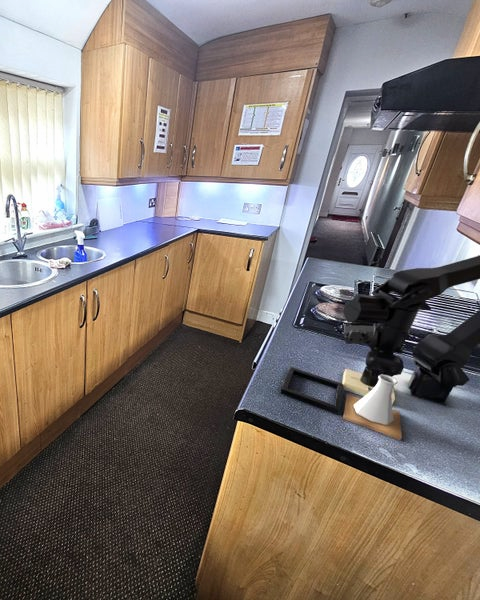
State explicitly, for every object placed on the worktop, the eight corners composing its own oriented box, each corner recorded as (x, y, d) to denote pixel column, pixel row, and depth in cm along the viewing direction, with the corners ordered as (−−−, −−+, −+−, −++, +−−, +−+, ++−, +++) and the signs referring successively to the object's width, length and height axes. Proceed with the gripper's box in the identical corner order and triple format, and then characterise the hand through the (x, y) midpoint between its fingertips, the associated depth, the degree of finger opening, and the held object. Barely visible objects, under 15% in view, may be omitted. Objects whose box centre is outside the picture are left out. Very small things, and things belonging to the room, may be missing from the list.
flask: (350, 414, 76) (365, 379, 72) (354, 398, 81) (368, 365, 77) (391, 430, 72) (410, 394, 68) (393, 413, 76) (410, 378, 72)
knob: (360, 376, 87) (365, 363, 85) (377, 382, 85) (383, 368, 83) (359, 383, 85) (365, 369, 83) (377, 388, 82) (384, 375, 81)
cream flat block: (390, 389, 86) (393, 382, 85) (391, 405, 80) (395, 398, 79) (343, 374, 91) (345, 368, 90) (341, 388, 86) (344, 382, 85)
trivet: (398, 414, 77) (399, 411, 77) (400, 440, 70) (401, 437, 70) (345, 396, 83) (346, 393, 83) (342, 418, 76) (343, 416, 76)
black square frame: (342, 388, 86) (344, 384, 85) (338, 415, 77) (340, 410, 76) (288, 370, 93) (289, 366, 92) (279, 393, 84) (281, 388, 84)
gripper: (353, 302, 89) (336, 351, 95) (350, 328, 76) (330, 382, 82) (409, 313, 83) (386, 365, 89) (415, 344, 69) (388, 401, 76)
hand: (371, 377), depth 84 cm, fingers open, 9 cm apart
